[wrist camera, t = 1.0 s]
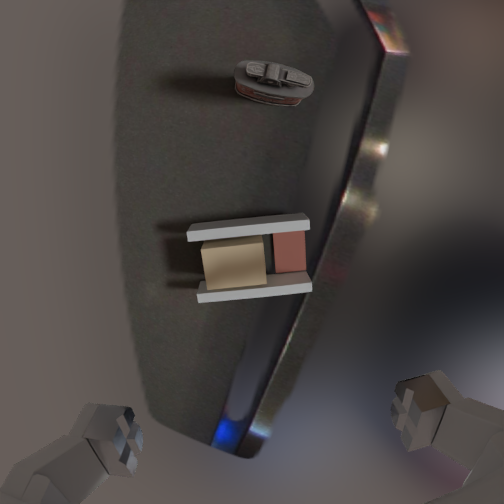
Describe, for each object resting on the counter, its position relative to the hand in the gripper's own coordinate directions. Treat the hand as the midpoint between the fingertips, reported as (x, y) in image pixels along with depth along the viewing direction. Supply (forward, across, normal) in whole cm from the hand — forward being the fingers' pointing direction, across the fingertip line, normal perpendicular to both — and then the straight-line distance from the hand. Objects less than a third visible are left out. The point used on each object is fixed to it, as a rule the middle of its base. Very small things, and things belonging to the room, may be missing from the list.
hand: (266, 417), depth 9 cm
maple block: (+33, +2, +5) cm, 34 cm away
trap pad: (+33, -5, +4) cm, 34 cm away
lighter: (+33, -4, -16) cm, 36 cm away
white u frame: (+33, 0, +4) cm, 33 cm away
